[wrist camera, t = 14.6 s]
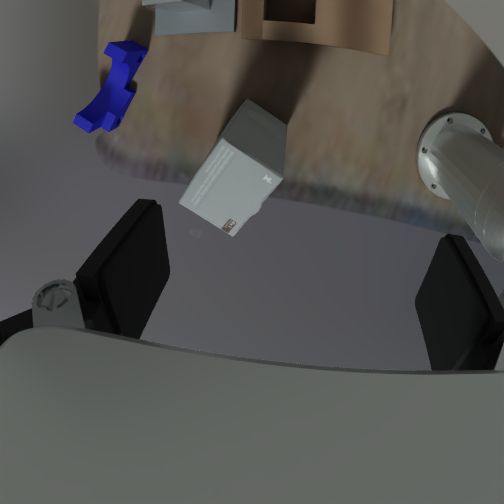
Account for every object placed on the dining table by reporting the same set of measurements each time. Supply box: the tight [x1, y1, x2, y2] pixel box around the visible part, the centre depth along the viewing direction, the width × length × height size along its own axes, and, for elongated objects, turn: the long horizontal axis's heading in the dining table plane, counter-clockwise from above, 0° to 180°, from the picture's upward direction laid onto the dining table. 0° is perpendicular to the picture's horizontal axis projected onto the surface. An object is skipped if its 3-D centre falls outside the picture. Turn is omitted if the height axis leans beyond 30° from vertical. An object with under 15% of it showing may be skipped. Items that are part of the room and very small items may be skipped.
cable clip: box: [73, 41, 148, 133], centre depth 35 cm, size 12×4×6 cm, turn 144°
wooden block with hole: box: [241, 0, 393, 56], centre depth 27 cm, size 16×10×4 cm, turn 88°
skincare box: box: [179, 99, 287, 236], centre depth 34 cm, size 8×7×16 cm
